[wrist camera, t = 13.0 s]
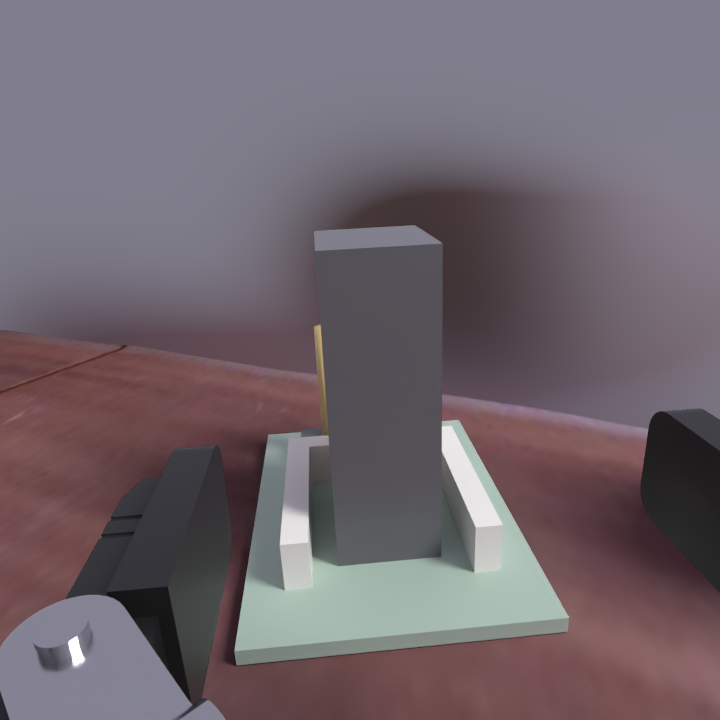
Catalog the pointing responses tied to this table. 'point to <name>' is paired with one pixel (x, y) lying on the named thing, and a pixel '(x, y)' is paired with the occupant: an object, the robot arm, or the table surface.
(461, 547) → the header board
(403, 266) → the block
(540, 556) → the table surface
